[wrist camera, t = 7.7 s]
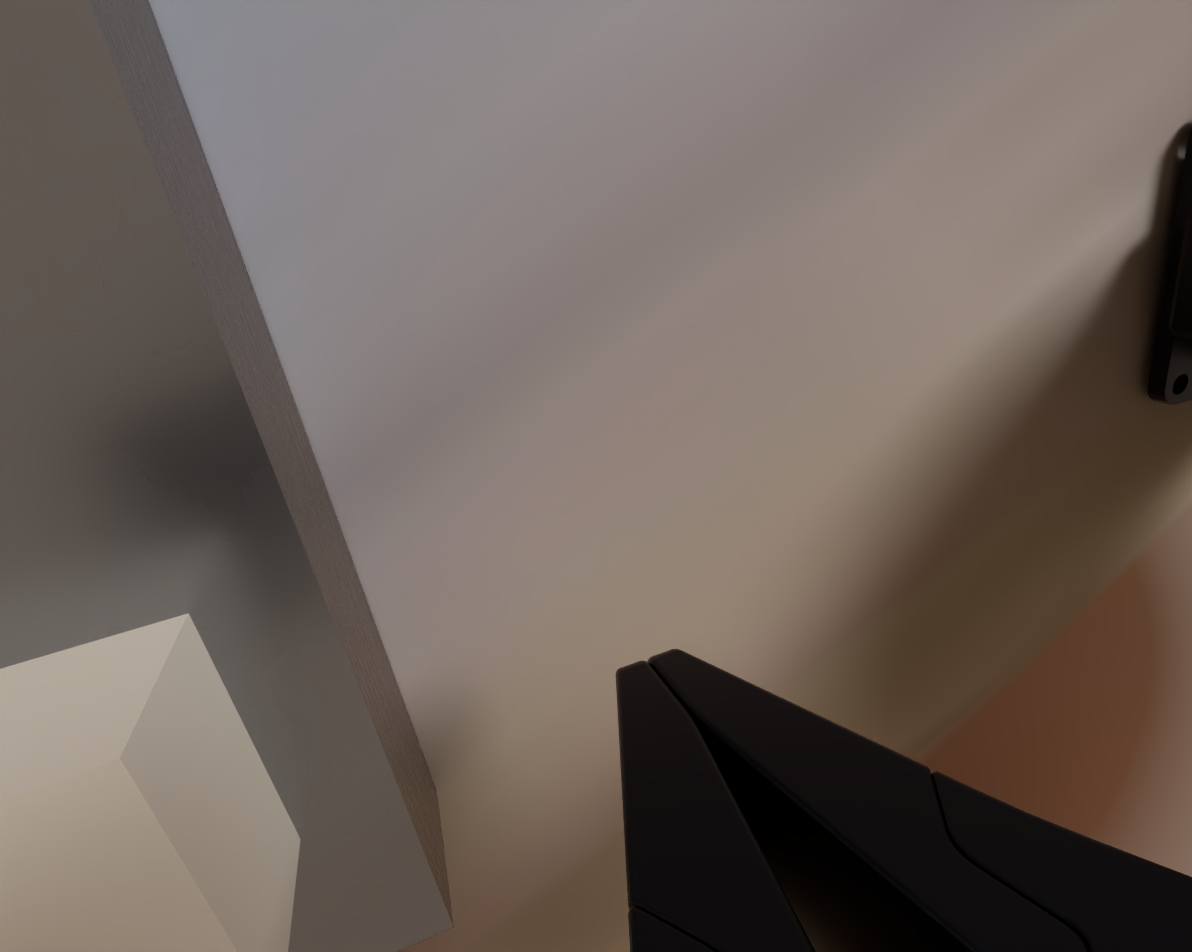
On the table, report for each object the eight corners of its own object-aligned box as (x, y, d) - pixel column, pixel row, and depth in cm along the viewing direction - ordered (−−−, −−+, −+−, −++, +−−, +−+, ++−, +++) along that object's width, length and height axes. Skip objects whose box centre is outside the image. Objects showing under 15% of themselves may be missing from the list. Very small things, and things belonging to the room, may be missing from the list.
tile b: (188, 613, 8) (119, 757, 6) (300, 838, 10) (279, 1022, 7) (-208, 730, 7) (-469, 953, 5) (-13, 958, 9) (-145, 1208, 6)
